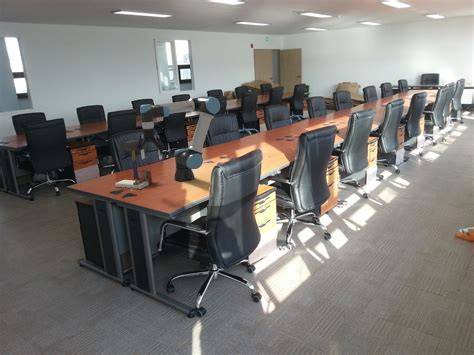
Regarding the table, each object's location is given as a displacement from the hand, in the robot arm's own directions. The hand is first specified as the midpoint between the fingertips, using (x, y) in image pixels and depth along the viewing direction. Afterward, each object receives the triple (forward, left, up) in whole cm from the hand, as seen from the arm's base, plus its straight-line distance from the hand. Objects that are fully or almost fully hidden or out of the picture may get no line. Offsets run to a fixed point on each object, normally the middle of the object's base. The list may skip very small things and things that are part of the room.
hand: (152, 159), depth 271 cm
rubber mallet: (-25, -35, -23) cm, 48 cm away
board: (-6, -24, -23) cm, 34 cm away
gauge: (-9, -17, -23) cm, 30 cm away
